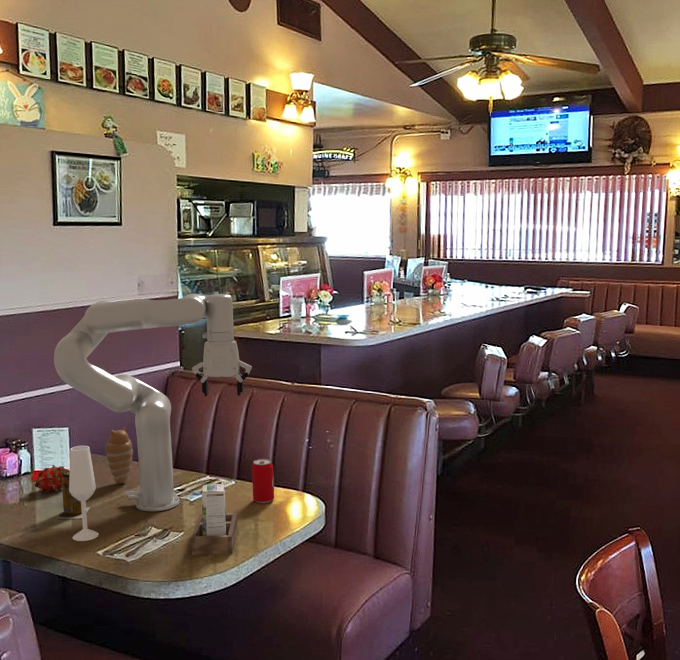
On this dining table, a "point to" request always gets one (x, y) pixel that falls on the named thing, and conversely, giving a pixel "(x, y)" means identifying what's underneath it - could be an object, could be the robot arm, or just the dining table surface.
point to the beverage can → (263, 481)
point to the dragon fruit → (50, 479)
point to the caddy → (214, 538)
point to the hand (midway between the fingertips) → (222, 395)
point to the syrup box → (213, 510)
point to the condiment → (70, 501)
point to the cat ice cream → (119, 455)
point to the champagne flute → (82, 485)
